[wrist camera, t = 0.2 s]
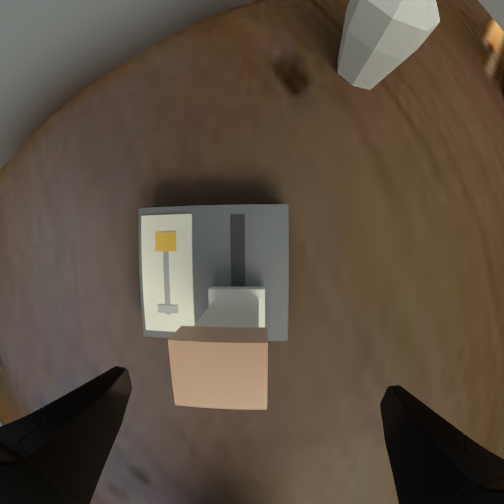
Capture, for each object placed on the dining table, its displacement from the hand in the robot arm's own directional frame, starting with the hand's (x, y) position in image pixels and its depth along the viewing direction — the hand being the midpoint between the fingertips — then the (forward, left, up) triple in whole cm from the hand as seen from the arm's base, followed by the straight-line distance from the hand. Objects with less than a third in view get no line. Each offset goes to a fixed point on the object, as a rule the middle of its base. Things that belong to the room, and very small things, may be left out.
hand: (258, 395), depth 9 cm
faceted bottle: (+22, +8, -16) cm, 28 cm away
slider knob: (-1, +1, -12) cm, 12 cm away
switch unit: (-1, +4, -15) cm, 16 cm away
